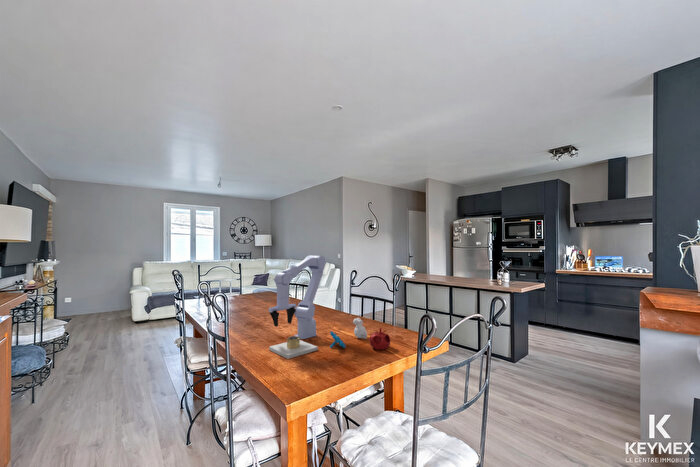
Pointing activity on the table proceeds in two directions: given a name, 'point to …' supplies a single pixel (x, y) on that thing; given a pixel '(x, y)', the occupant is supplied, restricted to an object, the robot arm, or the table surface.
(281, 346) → the grey peg base
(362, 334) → the white animal figurine
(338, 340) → the blue branched piece
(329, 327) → the table surface
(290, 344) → the ring
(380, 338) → the pomegranate
